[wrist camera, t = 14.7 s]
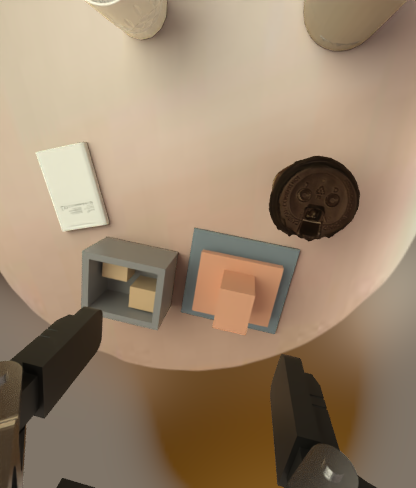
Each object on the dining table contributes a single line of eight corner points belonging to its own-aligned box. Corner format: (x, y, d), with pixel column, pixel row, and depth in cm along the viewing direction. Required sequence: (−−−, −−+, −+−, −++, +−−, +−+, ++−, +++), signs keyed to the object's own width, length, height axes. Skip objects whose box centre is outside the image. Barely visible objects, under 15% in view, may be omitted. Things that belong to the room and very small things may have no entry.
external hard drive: (89, 142, 41) (111, 222, 44) (41, 152, 42) (67, 229, 46) (82, 141, 39) (106, 225, 43) (34, 152, 41) (60, 231, 44)
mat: (194, 227, 42) (194, 228, 41) (299, 249, 40) (300, 250, 40) (181, 310, 47) (180, 312, 46) (274, 332, 45) (274, 334, 45)
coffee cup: (287, 230, 40) (303, 263, 28) (251, 186, 39) (251, 200, 26) (340, 190, 37) (384, 208, 25) (303, 142, 36) (330, 135, 24)
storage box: (107, 236, 44) (82, 250, 38) (178, 252, 43) (165, 269, 37) (104, 290, 48) (81, 311, 41) (170, 305, 47) (157, 330, 40)
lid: (204, 246, 42) (193, 267, 34) (282, 262, 41) (289, 288, 33) (194, 302, 45) (183, 333, 38) (266, 318, 44) (270, 354, 36)
